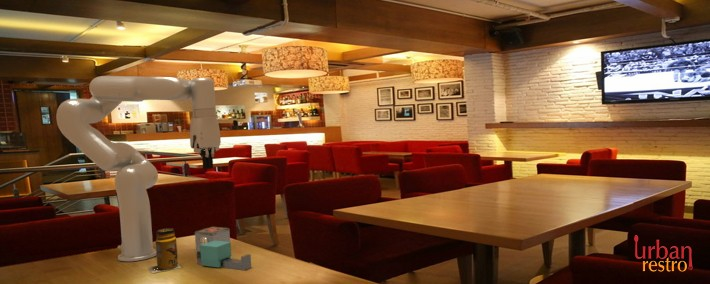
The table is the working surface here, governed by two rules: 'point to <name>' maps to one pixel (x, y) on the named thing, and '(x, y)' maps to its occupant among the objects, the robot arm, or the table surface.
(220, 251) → the carriage
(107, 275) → the table surface
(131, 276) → the table surface
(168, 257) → the condiment
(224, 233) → the frame
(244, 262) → the rail
